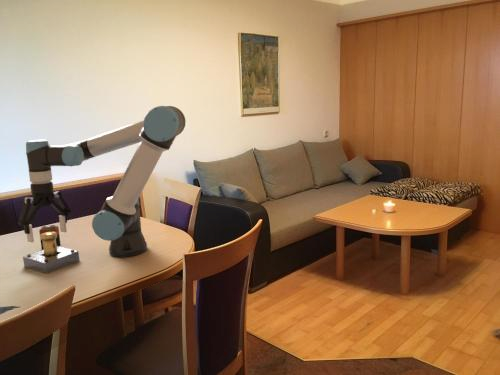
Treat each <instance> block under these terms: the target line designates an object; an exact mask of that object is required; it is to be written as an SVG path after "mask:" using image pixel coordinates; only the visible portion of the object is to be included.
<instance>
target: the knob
mask: <svg viewBox="0 0 500 375" xmlns="http://www.w3.org/2000/svg"><path fill="white" fill-rule="evenodd" d="M56 238H57V233H56V232H46V233H43V234H41V235H40V234H39V239H41V240H42V241H43V249H44V256H45V257H52V256H54V255H57V254H58V253H57V245H56ZM41 240H40V241H41Z"/></svg>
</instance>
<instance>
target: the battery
mask: <svg viewBox="0 0 500 375" xmlns="http://www.w3.org/2000/svg"><path fill="white" fill-rule="evenodd" d="M38 232H39V236H40V235H41V234H43V233H46V232H56V233H57V238H56V245H57V246H59V247H62V245H61V239H60V238H61V237H60V227H59V226H58V225H56V224H52V225H49V226H46V225H44V226H41V228H40V229H39V230H38ZM39 239H40V238H39ZM40 247H41V251H42V250H44V249H43V241H42V240H41V239H40Z"/></svg>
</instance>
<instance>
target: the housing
mask: <svg viewBox="0 0 500 375" xmlns="http://www.w3.org/2000/svg"><path fill="white" fill-rule="evenodd" d="M57 253H58V254H57V255H54V256H52V257H45V256H44V250H42V249H41V250H39V251H37V252H34V253H29V254H27V255H24V256H22V259H23V260H22V261H23V266H24V268H27V269H30V270H33V271H37V272H40V273H44V274H49V273H52V272H54V271H57V270H59V269H63V268H65V267H67V266H70V265H73V264H75V263H77V262H80V255H79V251H78V250H74V249H71V248H68V247H67V248H66V247H63V246H60V247H59V246H57Z"/></svg>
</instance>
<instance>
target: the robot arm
mask: <svg viewBox="0 0 500 375" xmlns="http://www.w3.org/2000/svg"><path fill="white" fill-rule="evenodd" d="M185 128H186V117H185V115H184V113H183V112H182V110H180V109H179V108H178V107H176V106H173V105H172V106H171V105H167V106H166V105H158V106H155V107H153V108H151V109H150V110H148V112H147V113H146V114H145V115H144V118H143V120H139V121H137V122H134V123H131V124H128V125H125V126H121V127H119V128H116V129H113V130H110V131H108V132H104V133H101V134H98V135H95V136H92V137H90V138H86V139H84V140H80V141H77V142H73V143H68V144H65V145H64V144H63V145H50V144H49V140H48V139H47V140H46V139H33V140H31V139H30V140H28V141H26V142H25V154H26V160H27V166H28V175H29V182H30V193H31V197H24V198H23V205H22V208H21V211H20V214H19V217H18V221H17V225H21V226H22V227H23V232H24V234H26V239H27V242H29V243H34V242H35V240H34V231H33V225H32V224H31V222H32V221H33V219H34V217H35V216H36V214H37V212H38V210H40V208H44V207H49V206H51V207H52V208H53V209H54V210H55V211H56V212H58V213H59V214H60V215H58V218H59V219H58V220H59V221H58V222H59V231H60V232H61V233H67V223H68V215H69V214H70V213H72V210H71V208H70V207H69V205H68V204H67V203H66V201H65V199H64V198H63V195H62V192H61V191H57V190H55V191H54V182H53V181H52V180H53V173H52V172H53V171H52V167H76V166H77V167H79V166H81V165H82V163H83V162H84V161H88V160H90V159H93V158H96V157H99V156H102V155H105V154H107V153H111V152H114V151H117V150H120V149H123V148H124V149H125V148H127V147H129V146H133V145H136V144H138V143H139V144H138V146H137V147H136V150H135V152H134V153H133V155H132V158H131V160H130V162H129V163H128V166H127V168H126V169H125V172H124V174H123V176H122V177H121V179H120V182H119V183H118V185H117V186H116V189H115V191H114V193H113V195H112V196H108V197H107V198H106V199H105V201H104V202H103V204H102V207H101V209H100V211H98V212H97V213H95V215H94V216H93V218H92V222H91V226H92V230H93V233H94V234H95V235H96V236H97V237H98V238H100V239H102V240H104V241H109V242H110V244H109V246H108V252H109V253H108V254H109V255H110V256H112V257H116V258H129V257H135V256H139V255H142V254H144V253H145V252H147V250H148V244H147V241H146V239H145V237H144V235H143V231H142V223H141V222H142V221H141V209H140V205H141V204H140V200H139V198H140V196H141V194H142V193H143V191H144V189H145V187H146V185H147V183H148V182H149V179H150V177H151V175H152V173H153V171H154V170H155V168H156V165H157V163H158V162H159V161H160V158H161V157H162V154H163V152H166V151H169V150H170V149H171V147H172V145H173V143H174V141H175V139H176V138H177V137H178V136H179V135H180V134H181V133H182V132H183V131H184V129H185ZM54 198H55V199H56V200H57V202H58V203H57V202H56V201H55V200H54Z"/></svg>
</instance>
